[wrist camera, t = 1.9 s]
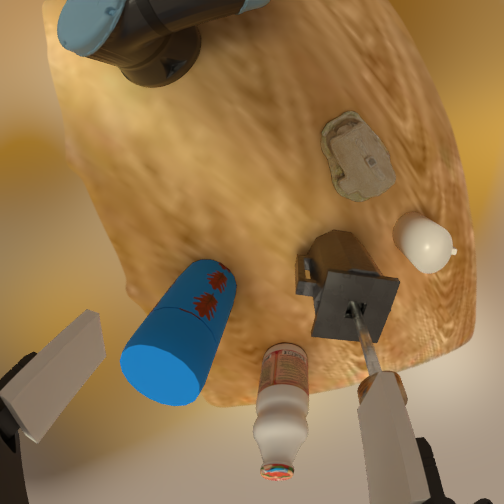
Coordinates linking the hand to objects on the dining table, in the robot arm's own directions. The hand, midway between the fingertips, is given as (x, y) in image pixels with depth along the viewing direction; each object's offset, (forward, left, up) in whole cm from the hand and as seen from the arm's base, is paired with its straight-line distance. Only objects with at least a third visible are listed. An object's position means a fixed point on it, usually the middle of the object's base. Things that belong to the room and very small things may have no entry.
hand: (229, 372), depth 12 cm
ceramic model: (-10, +12, -38) cm, 41 cm away
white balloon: (+1, +26, -38) cm, 46 cm away
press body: (+8, +11, -37) cm, 40 cm away
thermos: (+17, -10, -38) cm, 43 cm away
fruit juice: (+32, +7, -38) cm, 50 cm away
